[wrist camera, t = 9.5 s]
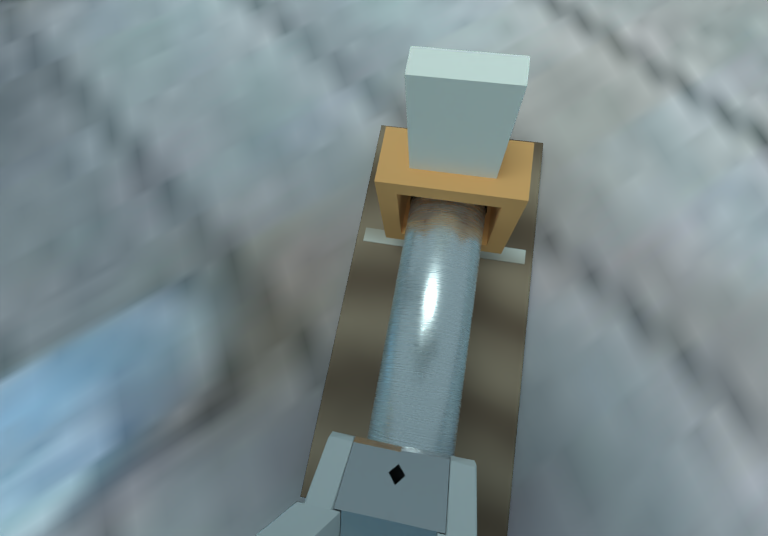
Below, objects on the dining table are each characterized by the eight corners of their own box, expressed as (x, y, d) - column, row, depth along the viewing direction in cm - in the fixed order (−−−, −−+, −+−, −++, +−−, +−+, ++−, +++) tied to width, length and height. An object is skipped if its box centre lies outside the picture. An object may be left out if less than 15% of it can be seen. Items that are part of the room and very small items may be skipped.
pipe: (441, 530, 20) (446, 559, 17) (357, 511, 21) (342, 534, 17) (497, 106, 27) (509, 56, 23) (432, 99, 28) (434, 49, 24)
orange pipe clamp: (501, 253, 26) (573, 114, 14) (385, 237, 27) (355, 92, 15) (506, 208, 27) (578, 38, 14) (394, 193, 28) (372, 22, 15)
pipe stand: (502, 538, 25) (537, 593, 18) (305, 492, 27) (260, 526, 19) (538, 152, 33) (574, 75, 25) (382, 134, 34) (372, 57, 27)
